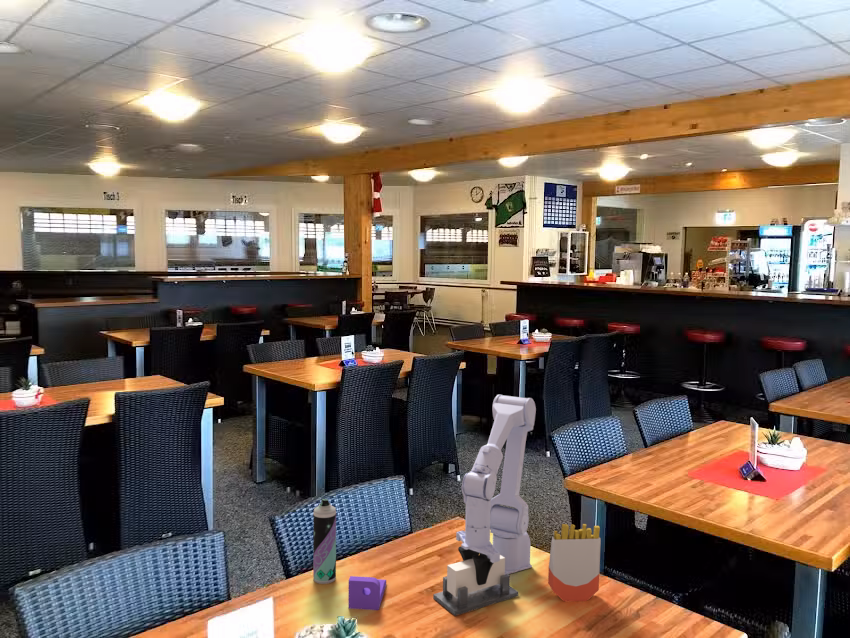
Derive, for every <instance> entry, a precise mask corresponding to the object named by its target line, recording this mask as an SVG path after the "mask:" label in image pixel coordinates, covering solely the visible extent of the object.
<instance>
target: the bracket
mask: <svg viewBox="0 0 850 638" xmlns="http://www.w3.org/2000/svg"><path fill="white" fill-rule="evenodd" d="M386 587H387V579H381V578H380V579H377V578H376V577H370V576H355V575H354V576H353V575H351V576H349V579H348V601H347V603H348V604H347V605H348V607H347V608H348V609H350V610H352V609H353V610H367V611H368V610H370V611H379V610H380V607H381V604H382V603H381V602H382V600H383V597H384V593H385V590H386Z"/></svg>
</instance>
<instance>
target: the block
mask: <svg viewBox="0 0 850 638" xmlns="http://www.w3.org/2000/svg"><path fill="white" fill-rule="evenodd" d="M446 569H447V571H446V575H447V591H448V592H450V593H451V594H452V595H454V596H455V597H457V596H458V588H461V587H464V586H466V587H467V588H468V593H470V592H474V591H477V590H481V589H484V588H487V587H491V586H494V585H497V584H500V576H502V575H505V557H503V556H501V555H500V561H498V562H494V563H493V565H492V567H491V569H490V571H489V574H488V578H487V581H486V584H483V585H478V584H477V580H476V568H475V564H474V561H473V559H469V560H465V561H463V560H461V561H459V562H455V563H450V564H447V567H446Z"/></svg>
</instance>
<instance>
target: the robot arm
mask: <svg viewBox="0 0 850 638" xmlns="http://www.w3.org/2000/svg"><path fill="white" fill-rule="evenodd" d="M536 407H537V406H536V403H535V401H534V399H533V398H532V397H519V396H511V395H503V394H496V396H495V397H494V399H493V402H492V417H493V420H494V421H493V423H492V428H491V430H490V435H489V437H488V440H487V444H485V445H482V446H481V447H480V448H479V451H478V453H477V456H476V458H475V461H474V464H473V465H472V468H471V470H470V471H469V472H466V473H465V474H464V476H463V478H462V483H461V493H462V495H463V503H464V504H465V522H464V523H465V524H464V525H465V526H464V527H465V528H464V529H465V530H459V531H456V533H455V534H456V536H455V537H456V538H455V539H456V541H458V542H460V541H461V546H458V547H457V549H458V553H459V555H460V556H461V559H462V561H465V560H469V559H473V561H474V564H475V568H476V580H477V584H478V585H483V584H486V581H487V578H488V574H489V571H490V569H491V567H492V565H493V563H494V562H498V561H500V555H501V556H503V557H505V574H508V575H510V574H514V573H517V572H520V571H524V570H528V569H530V568H531V569H532V567H533V564H531V544H532V543H531V539H530V536H529V534H528V532H527V530H528V528H529V522H530V521H529V519H530V518H529V505H528V504H527V502H526V501H525V500H524V499H523V498H522V497H521V496H520V491H521V484H522V483H521V482H522V476H523V475H522V474H523V466H524V459H525V451H526V441H527V436H528V432H531V431H533V430H534V426H535V421H536V414H537V413H536V411H537V408H536ZM505 443H506V444H505ZM504 445H505V453H504V454H503V452H502V449H503V447H504ZM503 458H504V460H503ZM502 461H503V468H502V469H503V470H502V474H501V475H502V476H501V484H500V493H498V494H497V495H495V496H494V494H495V492H496V485H497V484H496V483H497V480H498V478H497V474H498V471H499V469H500V466H501V463H502ZM493 496H494V497H493ZM491 534H492V542H491Z"/></svg>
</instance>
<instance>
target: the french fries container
mask: <svg viewBox="0 0 850 638" xmlns="http://www.w3.org/2000/svg"><path fill="white" fill-rule="evenodd" d="M575 528H576V525H575V524H570V526H569V525H568V523H562V524H561V529H560V530H561V533H558V531H557V530H554V532H553V535H552V536H551V544H550V551H549V552H550V553H549V561H548V575H547V576H548V578H547V579H548V580H547V583H548V585H549V587H550V589H551V590H552V592H553V593H554V594H555V595H556V596H557V597H559V598H560V599H561V600H562V601H563V602H585V601H586V602H587V601H588V600H590V599H591V598H592V596H593V597H594V595H595V594H596V593H597V592H599V590H600V587H599V586H600V568H601V567H600V566H601V564H600V563H601V562H600V561H601V542H602V541H601V539H602V538H601V537H600V532H601V530H600V529H601V528H600V526H599V525H594V526H593V532H592V528H590V527H587V523H582V528H580V529H575Z"/></svg>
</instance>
